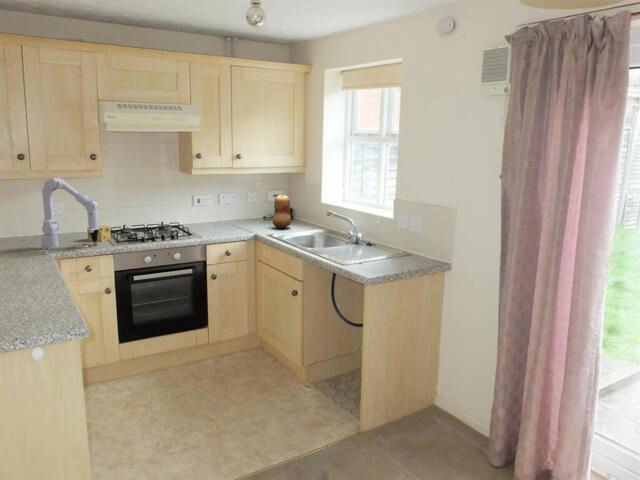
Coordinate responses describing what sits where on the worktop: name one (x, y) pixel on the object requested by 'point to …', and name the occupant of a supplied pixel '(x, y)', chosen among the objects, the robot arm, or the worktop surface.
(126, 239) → the worktop surface
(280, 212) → the butternut squash
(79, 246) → the cam capstan
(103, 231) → the cheese
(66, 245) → the worktop surface
